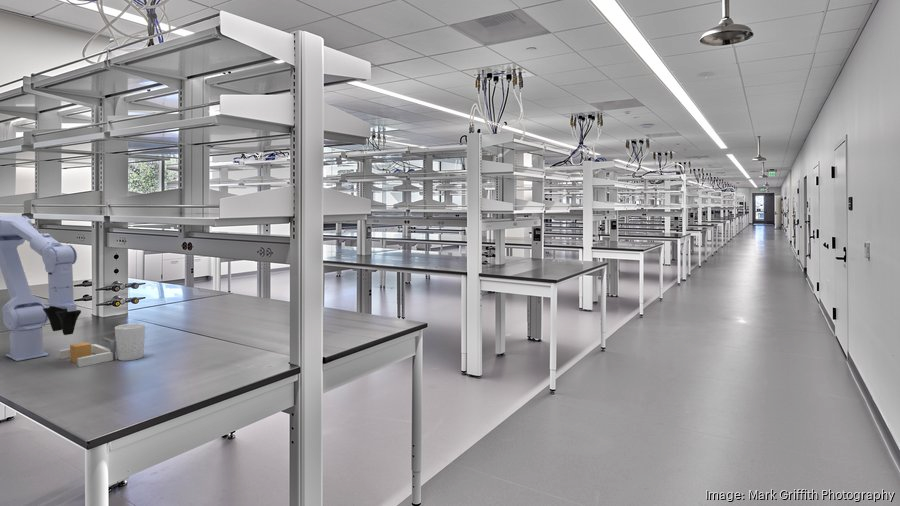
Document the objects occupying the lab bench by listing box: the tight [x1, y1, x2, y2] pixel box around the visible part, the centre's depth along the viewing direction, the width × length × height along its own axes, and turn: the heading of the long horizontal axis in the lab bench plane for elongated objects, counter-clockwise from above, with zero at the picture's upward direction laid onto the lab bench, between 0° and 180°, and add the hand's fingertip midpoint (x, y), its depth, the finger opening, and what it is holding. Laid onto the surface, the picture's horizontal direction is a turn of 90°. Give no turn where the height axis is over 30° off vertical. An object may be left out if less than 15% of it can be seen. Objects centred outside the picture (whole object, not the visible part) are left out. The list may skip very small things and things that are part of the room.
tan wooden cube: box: [69, 341, 92, 364], centre depth 152 cm, size 4×4×5 cm
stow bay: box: [58, 336, 117, 368], centre depth 153 cm, size 14×10×6 cm
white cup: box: [114, 322, 146, 362], centre depth 155 cm, size 8×8×10 cm
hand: (62, 332), depth 148 cm, fingers open, 7 cm apart
